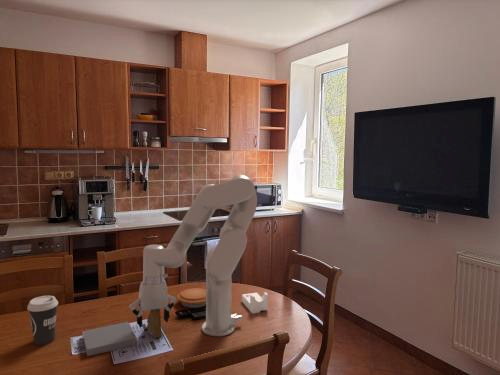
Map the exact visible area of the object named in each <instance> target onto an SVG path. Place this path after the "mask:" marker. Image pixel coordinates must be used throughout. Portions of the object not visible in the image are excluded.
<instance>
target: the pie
mask: <svg viewBox="0 0 500 375" xmlns="http://www.w3.org/2000/svg"><path fill="white" fill-rule="evenodd" d="M176 297H177V298H176V299H178V300H179V302H180V304H181V305H182V306H183V307H186V308H189V309H199V308H202V307H206V288H201V287H193V288H187V289H184V290H183V291H182V290H181V292H179V293H178V294H177V296H176Z"/></svg>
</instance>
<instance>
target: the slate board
mask: <svg viewBox="0 0 500 375" xmlns="http://www.w3.org/2000/svg"><path fill="white" fill-rule="evenodd" d="M82 340H83V345H84V348H85V351H86V357H91V356H95V355H99V354H103V353H107V352H111V351H115V350H119V349H123V348H128V347H132V346H136V345H138V338H137V335H136V334H135V332H134V330H133V328H132V327H131V324H130V323H129V321H125V322H120V323H115V324H109V325H105V326H100V327H96V328H90V329H86V330H82Z"/></svg>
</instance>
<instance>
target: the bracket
mask: <svg viewBox="0 0 500 375" xmlns="http://www.w3.org/2000/svg"><path fill="white" fill-rule="evenodd" d="M262 294H263V295H262V296H261V295H260V294H259V293H258V292H252V293H244V294H241V302H242V303H243V305H244V306H245V307H246V308H247V309H248V310H249V312H250V313H251V314H258V313H261V311H266V310H267V311H268V309H269V294H268V293H267V292H266V291H265V292H263V293H262Z"/></svg>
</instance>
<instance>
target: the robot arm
mask: <svg viewBox="0 0 500 375" xmlns="http://www.w3.org/2000/svg"><path fill="white" fill-rule="evenodd" d="M255 186H256V185H255V184H254V182H253V179H251V178H249V176H247V175H245V174H237V175H234V176H233V177H232V178H231V179H230V180H228V181H224V182H220V183H217V184H214V183H207V184H205V185H203V186H202V187H201V189H200V190H199V191H198V194H197V195H196V197H194V198H195V199H194V200H193V201H192V203H191V205H190V207H189V208H188V210H187V212H186V213H185V215H184V216H183V219H181V220H182V221H181V223H180V224H179V226H178V228H177V230H176V231H175V233H174V234H173V236H172V237H171V240H170V241H169V243H168V245H167V247H166V248H165V247H164V246H163V245H161V244H148V245H145V247H144V248H143V249H142V250H143V252H142V253H143V254H142V261H143V262H142V265H143V266H142V267H143V268H142V271H143V272H142V281H141V282H140V285H139V289H138V298H137V300H135V301H134V302H133V301H132V303H130V304H129V309H130V310H131V312H132V313H133V314H134V315H135V316H136V324H137V325H138V326H139V327H140V328H143V316H142V315H143V313H144V312H149V311H151V310H155V309H160V310H161V309H163V308H164V309H163V320H164V321H165V322H166V323H168V322H169V319H170V312H171V309H173V307H174V306H175V304H176V301H177V298H176V297H175V296H172V295H170V294H168V285H167V281H166V280H165V279H166V278H168V277H169V274H168V273H165V268H171V269H177V268H180V267H181V266H183V264H184V262H185V261H186V260H185V259H186V254H187V251H188V250H189V247H191V245H192V243H193V242H194V240H195V238H197V236H198V235H199V234H200V233H202V232H203V231H204V229H205V228H206V226H207V225H208V223H209V221H210V220H211V218H212V216H213V215H214V213H215V211H216V210H220V209H223V208H227V207H229V206H232V207H231V210H230V212H229V215H228V216H227V218H226V220H225V222H224V224H223V226H222V227H221V229H220V232H219V240H218V242H217V244H216V246H214V247H213V248H211V249H210V250H209V251H208V252H207V254H206V256H205V289H206V305H205V321H204V322H203V324H202V325H201V331H202V333H204V334H206V335H208V336H210V337H211V336H212V337H224V336H228V335H230V334H232V333H233V332H234V331H235V329H236V325H235V323H236V322H240V321H242V320H243V318H244V317H243V315H242V314H241V315H237V313H234V314H232V274H233V273H234V271H235V270H236V268H237V266H238V264H239V262H240V260H241V258H242V256H243V255H244V252H245V249H246V247H247V244H248V236H247V231H248V229H249V227H250V225H251V223H252V220H253V218H254V217H255V213H256V212H257V207H258V206H257V205H258V197H257V192H256V187H255ZM169 300H170V302H169ZM136 306H137V307H138V309H136V308H135V307H136Z"/></svg>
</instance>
